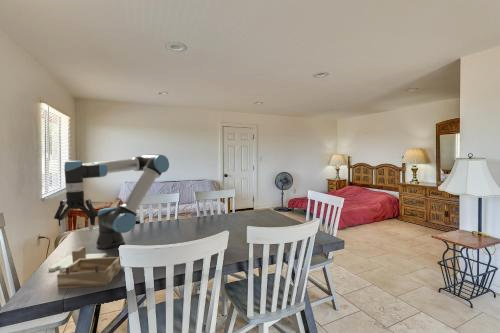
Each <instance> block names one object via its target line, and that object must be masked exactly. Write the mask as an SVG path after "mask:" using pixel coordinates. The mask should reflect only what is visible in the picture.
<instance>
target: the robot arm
mask: <svg viewBox="0 0 500 333" xmlns="http://www.w3.org/2000/svg"><path fill="white" fill-rule="evenodd" d="M169 168H170V161H169V158H168V157H167V156H166V155H163V154H160V153H159V154H144V155H141V156H140V155H139V156H133V157H132V158H127V159H125V158H124V159H115V160H107V161H106V160H105V161H104V160H103V161H95V162H94V161H93V162H85V163H84V162H83V161H82V160H67V161H65V162H64V170H63V171H64V177H65V178H64V179H65V191H66V192H65V199H66V200H65V199H62V200H60V201H59V206H58V208H57V210H56V213H55V215H54V217H53V219H54V220H58V226H59V227H60V233H61V234H63V233H65V232H67V229H66V218H65V217H66V215H67V214H68V213H69V212H70V211H71V210H80V211H82V213H84V214H85V215H86V216H87V218H88V219H87V223H88V224H87V225H88V233H91V232H92V231H93V230H94V225H95V219H96V217H97V220H98V221H97V223H98V237H97V239H96V243H95V244H96V249H97V248H98V249H102V250H104V249H113V248H116V247H119V246H121V245H123V244H124V243H125V239H124V236H123V234H126V233H129V232H130V231H132V230H133V229H134V228H135V225H137V216H138V212H137V210H138V209H139V207H140V206H141V204H142V202H143V201H144V200H145V197H146V196H147V194H148V193H149V191H150V189H151V187H152V186H153V184H154V183H155V180H156V179H157V178H160V177H161V175H162V174H163V173H166V172H167V171H168V170H169ZM128 171H135V172H139V171H140V172H141V171H142V174H141V176H140V177H139V179H138V180H137V181H136V184H135V185H134V187H133V188H132V190H131V191H130V193H129V194H128V196H127V198H126V199H125V200H124V202H123V203H122V204H120V205H118V206H113V207H112V206H111V207H106V208H101V209H99V210H98V211H96V209H95V208H94V206H93V204H92V200H91V199H90V198H89V199H86V200H85V193H84V179H93V178H95V179H96V178H104V177H106V176H107V175H108V174H113V173H120V172H128ZM66 205H67V207H65V206H66ZM86 206H87V207H86ZM64 208H65V209H64ZM63 210H64V211H63Z"/></svg>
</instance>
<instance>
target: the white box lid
mask: <svg viewBox="0 0 500 333" xmlns="http://www.w3.org/2000/svg"><path fill="white" fill-rule="evenodd" d="M71 253H72V254H68V255H67V256H65V257H63V258H62V259H61V260H59V261H58V262H56V263H55V264H53V265H51V266H50V267H48V272H56V271H57V270H59V271H60V272H62V271H63V270H64V269H66V268H67V267H68V266H70V265H71V264H72V263H74V262H75V261H77V260H78V259H85V258H105V257H107V256H108V254H107V252H105V253H104V252H103V253H87V252H86V246H78V247H77V248H76V249H73V250H72V251H71ZM86 253H87V254H86Z"/></svg>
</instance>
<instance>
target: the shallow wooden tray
mask: <svg viewBox="0 0 500 333" xmlns="http://www.w3.org/2000/svg"><path fill="white" fill-rule="evenodd" d="M120 257H121V256H109V257H107V256H106V257H105V258H85V259H78V260H77V261H75V262H74V263H72V264H71V265H70V266H68V267H67V268H66V269H64V270H63V271H60V272H59V273H58V274H56V280H57V289H70V288H71V289H72V288H86V287H87V288H88V287H102V286H103V287H104V286H108V284H110V283H111V282H112V281H113V279H114V278H115V277H116V275H118V274H119V272H120V271H121V270H122V269H123V266H122V267H121V265H120Z"/></svg>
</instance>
